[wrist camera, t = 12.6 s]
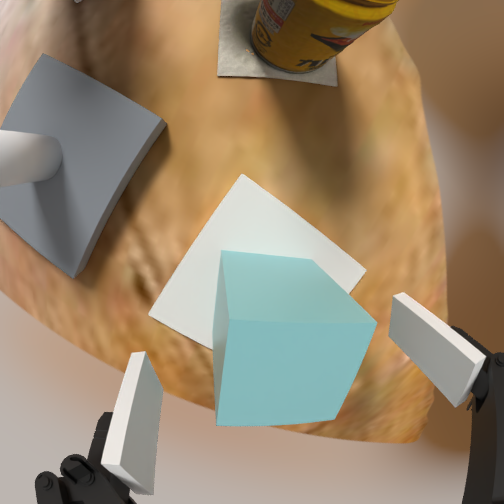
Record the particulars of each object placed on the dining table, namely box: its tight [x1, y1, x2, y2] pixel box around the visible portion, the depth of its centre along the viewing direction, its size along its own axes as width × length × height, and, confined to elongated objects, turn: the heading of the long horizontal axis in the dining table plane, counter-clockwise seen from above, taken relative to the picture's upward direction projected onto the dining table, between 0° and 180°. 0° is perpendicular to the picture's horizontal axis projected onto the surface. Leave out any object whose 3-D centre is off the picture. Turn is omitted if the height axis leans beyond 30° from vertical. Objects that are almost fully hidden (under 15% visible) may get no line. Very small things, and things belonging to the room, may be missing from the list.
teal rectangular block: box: [212, 250, 377, 426], centre depth 15 cm, size 6×6×9 cm
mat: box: [148, 174, 367, 350], centre depth 20 cm, size 12×12×1 cm
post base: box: [0, 53, 167, 279], centre depth 11 cm, size 12×12×9 cm
